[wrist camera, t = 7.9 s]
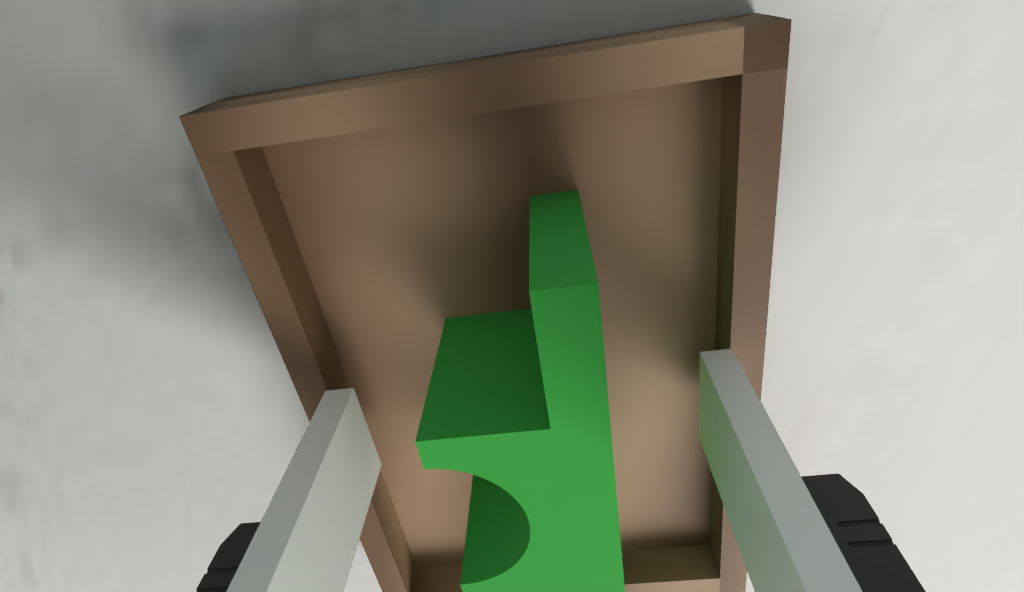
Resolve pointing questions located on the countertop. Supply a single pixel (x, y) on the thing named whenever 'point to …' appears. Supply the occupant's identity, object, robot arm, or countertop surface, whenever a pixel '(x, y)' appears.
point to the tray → (520, 256)
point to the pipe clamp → (532, 423)
